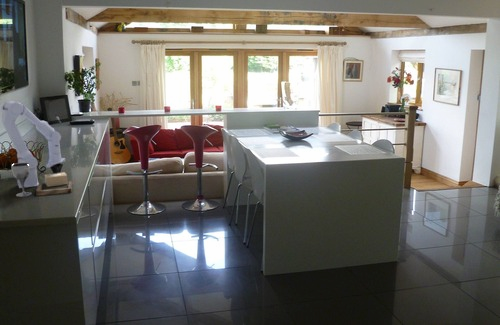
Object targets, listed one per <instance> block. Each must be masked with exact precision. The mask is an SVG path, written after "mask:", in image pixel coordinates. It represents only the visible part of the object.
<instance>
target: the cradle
mask: <svg viewBox="0 0 500 325" xmlns="http://www.w3.org/2000/svg"><path fill="white" fill-rule="evenodd" d="M67 186H68V187H65V188H52V189H43V183H39V185H38V186H37V188H36V189H35V195H36V196H47V195H48V196H49V195H57V194H59V193H60V194H70V193H71V194H72V191H73V180H69V181H68V184H67Z"/></svg>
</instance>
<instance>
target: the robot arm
mask: <svg viewBox="0 0 500 325" xmlns="http://www.w3.org/2000/svg"><path fill="white" fill-rule="evenodd" d="M1 110H2V111H1V112H2V115H1V123H2V125H3V127H4V130H5V131H6V133H7V135H8V137H9V139H10V141H11V143H12V145H13V147H14V149H15V150H16V152H17V154H16V156H17V163H29V165H30V173H29V176H28V177H27V179H26V180H25V182H24V189H25V188H33V187H38V185H39V184H40V183H39V180H38V172H37V166H38V163H39V162H38V160H37V158H36V157H35V156H34V155H33V154H32V152H31V151H30V150H29V148H28V147H27V145H26V142H25V140H24V138H23V136H22V135H21V133H20V130H19V129H18V128H19V127H17V125H16V120H17V119H18V118H19V116H23V117H24V118H26V119H27V120H29V121H30V122H31V123H32V124H33V125H34V126H35V129H36V130H37V131H38V132H39V133H40V134H42V135H43V136H44V138H45V140H47V145H48V147H47V148H48V155H49V159H48V162H47V163H45V167H46V168H48V169H50V170H51V172H52V174H55V173H62V168H63V166H64V164H63V163H65V162H66V158H65V157H62V154H61V145H60V144H61V142H60V141H61V139H62V135H61V134H60V132H59V131H56V130H55V128H54V127H52V126H51V125H50V124H49V122H48V121H45V120H41V119H39V118H38V117H37V116H36V115H35V114H34V113H33V112H32V111H30V109H29V108H28V107H27V106H25V105H24V104H22V103H21V102H19V101H13V100H7V101H5V102H4V103H3V105H2V107H1ZM16 183H17V185H18V188H19V189H22V185H21V183H20V181H19V180H17V181H16Z"/></svg>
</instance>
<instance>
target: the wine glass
mask: <svg viewBox="0 0 500 325" xmlns="http://www.w3.org/2000/svg"><path fill="white" fill-rule="evenodd" d="M10 166H11V171H12V174H13V175H12V176H13V177H14V178H15V179H16V180H17V181H18V180H19V181H20V183H21V185H22V188H21V189H22V192H19V193H17V194H15V196H16V197H18V198H19V197H21V198H22V197H23V198H24V197H28V196H31V195H32V194H33V193H32V192H31V191H29V192H28V191H25V188H24V182H25V180H26V179H27V177H28V176H29V173H30V165H29V163H18V162H17V163H13V164H11V165H10Z"/></svg>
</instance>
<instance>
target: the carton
mask: <svg viewBox="0 0 500 325" xmlns="http://www.w3.org/2000/svg"><path fill="white" fill-rule="evenodd" d="M44 182H45V183H44V184H45V185H46V187H47V188H48V187H55V186H63V185H69V181H68V175H67V173H66V172H65V171H64V172H60V173H55V174H53V173H49V174H44Z"/></svg>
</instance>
